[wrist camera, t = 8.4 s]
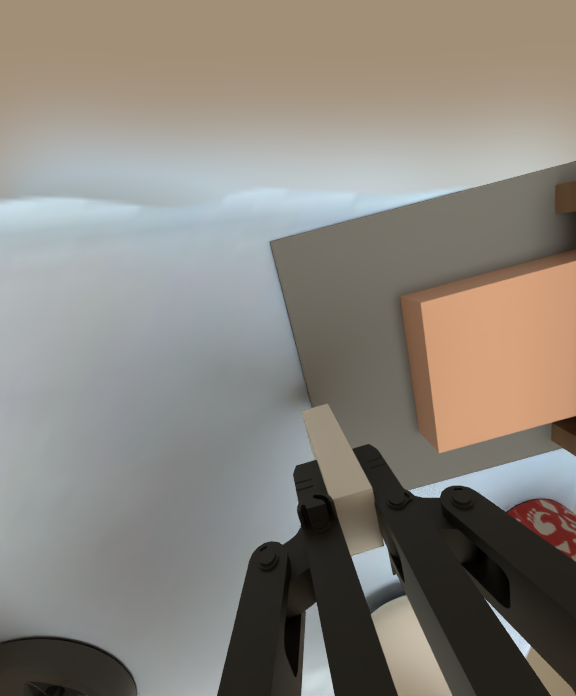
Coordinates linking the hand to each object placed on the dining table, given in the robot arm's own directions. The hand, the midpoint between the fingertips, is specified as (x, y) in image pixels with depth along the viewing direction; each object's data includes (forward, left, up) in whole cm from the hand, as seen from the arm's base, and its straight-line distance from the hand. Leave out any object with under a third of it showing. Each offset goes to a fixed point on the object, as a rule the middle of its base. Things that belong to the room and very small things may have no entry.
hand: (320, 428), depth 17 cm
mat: (+14, 0, -4) cm, 15 cm away
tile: (+14, 0, -4) cm, 15 cm away
